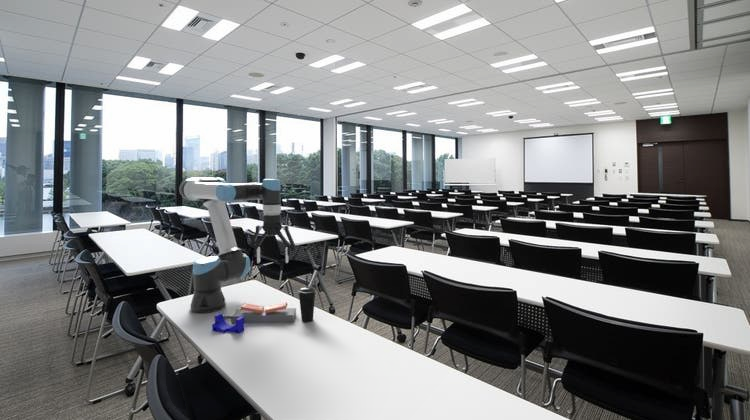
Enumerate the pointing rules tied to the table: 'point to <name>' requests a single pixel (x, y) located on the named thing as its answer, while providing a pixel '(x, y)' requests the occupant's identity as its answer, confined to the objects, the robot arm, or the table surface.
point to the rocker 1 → (252, 308)
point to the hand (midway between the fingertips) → (272, 262)
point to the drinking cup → (307, 302)
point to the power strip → (264, 316)
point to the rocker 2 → (276, 307)
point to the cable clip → (227, 325)
